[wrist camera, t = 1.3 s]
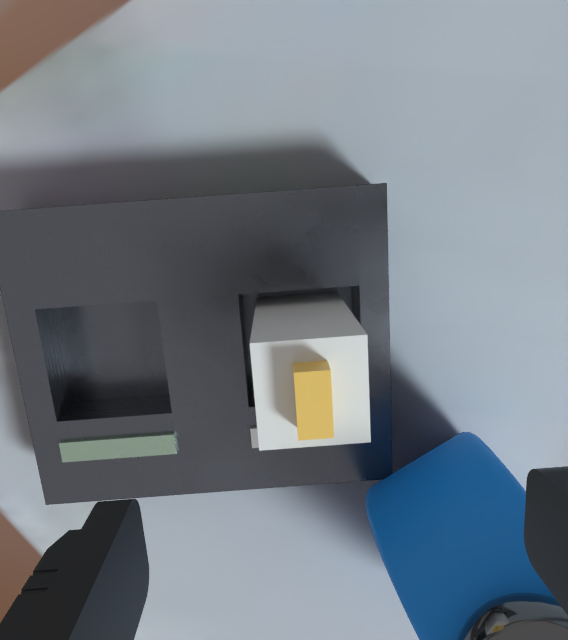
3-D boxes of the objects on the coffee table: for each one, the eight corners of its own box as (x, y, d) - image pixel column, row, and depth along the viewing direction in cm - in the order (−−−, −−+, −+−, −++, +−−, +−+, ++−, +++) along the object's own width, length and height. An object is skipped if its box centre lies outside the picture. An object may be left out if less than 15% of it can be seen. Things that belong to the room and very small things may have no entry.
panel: (372, 185, 24) (387, 183, 21) (379, 448, 27) (393, 480, 24) (20, 210, 24) (-19, 212, 21) (70, 471, 27) (44, 507, 24)
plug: (337, 291, 24) (373, 342, 16) (340, 368, 25) (376, 456, 17) (256, 297, 24) (247, 352, 16) (263, 373, 25) (258, 465, 17)
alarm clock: (547, 557, 29) (824, 918, 14) (456, 608, 30) (633, 1001, 15) (437, 386, 26) (642, 617, 12) (339, 446, 27) (419, 735, 12)
